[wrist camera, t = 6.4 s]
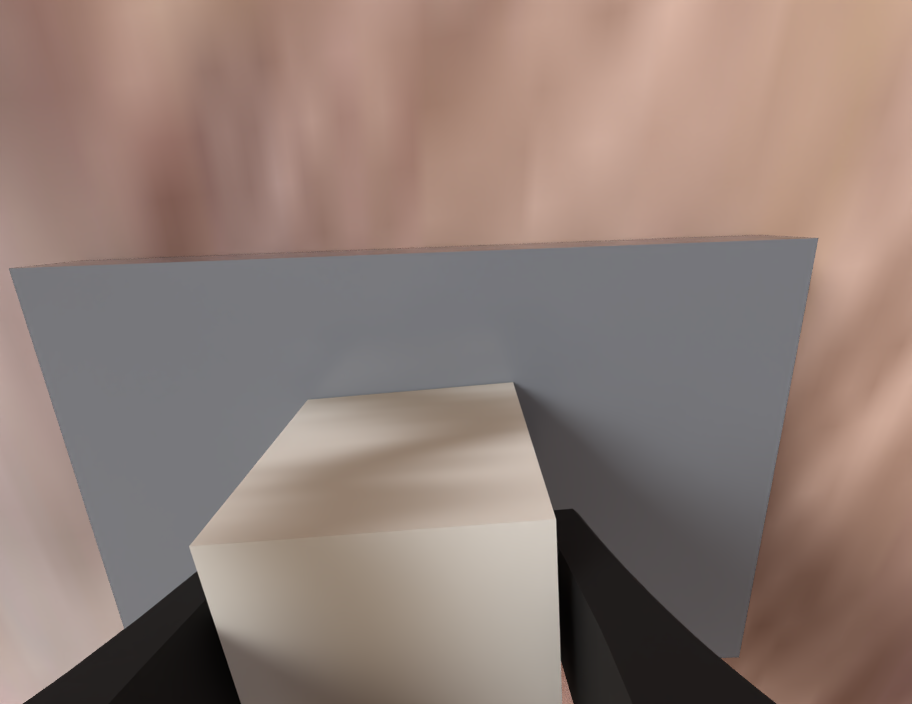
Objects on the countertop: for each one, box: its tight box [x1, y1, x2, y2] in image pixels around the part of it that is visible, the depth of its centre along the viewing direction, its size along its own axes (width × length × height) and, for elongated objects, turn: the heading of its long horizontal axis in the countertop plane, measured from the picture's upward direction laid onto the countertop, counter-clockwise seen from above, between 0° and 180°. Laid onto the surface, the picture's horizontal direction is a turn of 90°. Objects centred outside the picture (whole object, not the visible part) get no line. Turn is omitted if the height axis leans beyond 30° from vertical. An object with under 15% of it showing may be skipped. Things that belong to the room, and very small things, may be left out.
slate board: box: [9, 235, 818, 658], centre depth 13 cm, size 18×12×2 cm, turn 92°
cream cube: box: [189, 382, 562, 704], centre depth 9 cm, size 5×5×5 cm
